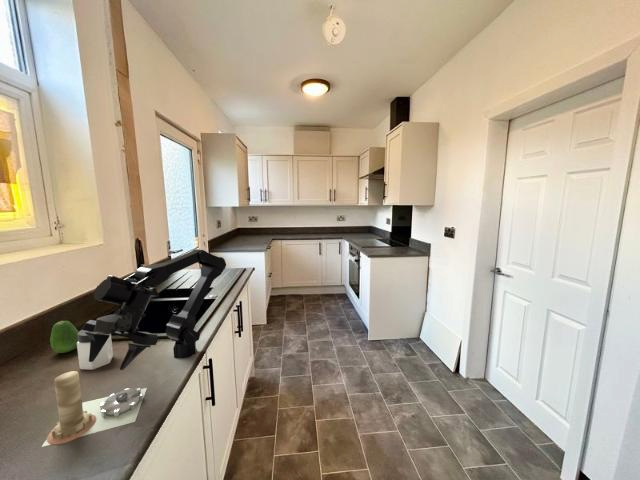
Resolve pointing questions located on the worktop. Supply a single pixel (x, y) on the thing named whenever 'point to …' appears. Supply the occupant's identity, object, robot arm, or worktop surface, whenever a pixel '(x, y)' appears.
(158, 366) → the worktop surface
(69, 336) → the avocado
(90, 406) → the board
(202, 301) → the robot arm
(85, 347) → the jar
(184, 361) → the worktop surface
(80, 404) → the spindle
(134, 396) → the gear
